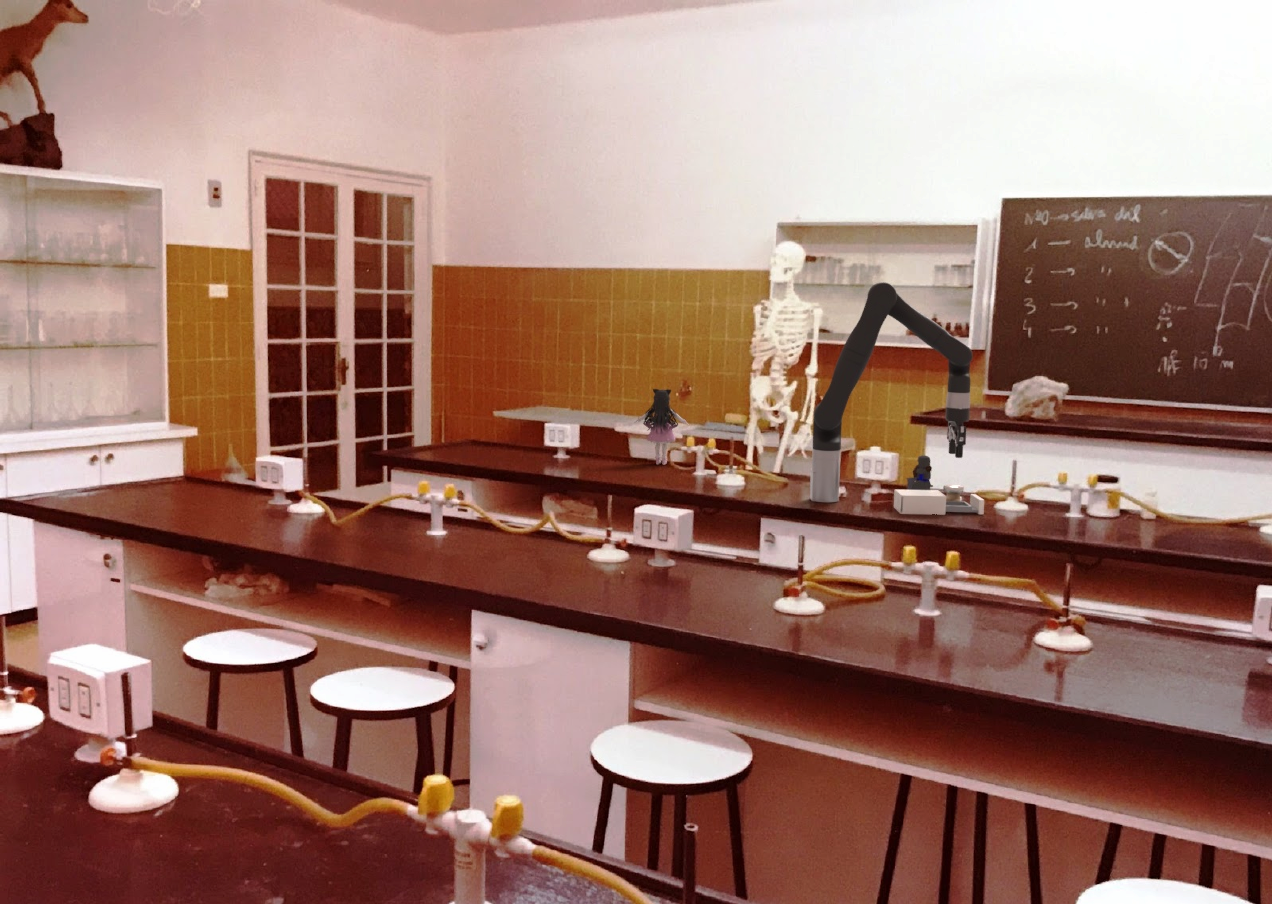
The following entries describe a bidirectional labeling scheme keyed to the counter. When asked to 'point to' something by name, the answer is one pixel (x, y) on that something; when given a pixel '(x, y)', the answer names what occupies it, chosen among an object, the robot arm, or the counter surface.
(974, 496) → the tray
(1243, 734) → the counter surface
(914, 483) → the toy
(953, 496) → the pedestal
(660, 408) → the figurine
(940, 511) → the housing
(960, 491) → the puck
